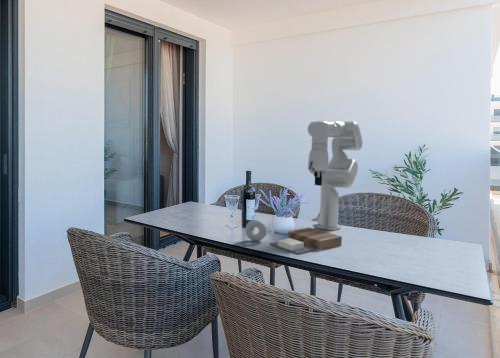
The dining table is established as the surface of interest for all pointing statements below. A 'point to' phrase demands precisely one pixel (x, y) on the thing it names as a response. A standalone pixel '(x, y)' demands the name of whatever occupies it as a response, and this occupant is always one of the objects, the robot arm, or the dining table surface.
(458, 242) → the dining table surface
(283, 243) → the tile
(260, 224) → the donut
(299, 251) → the mat
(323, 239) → the stand
